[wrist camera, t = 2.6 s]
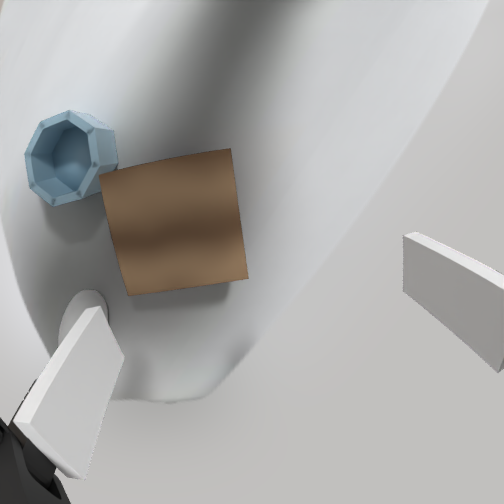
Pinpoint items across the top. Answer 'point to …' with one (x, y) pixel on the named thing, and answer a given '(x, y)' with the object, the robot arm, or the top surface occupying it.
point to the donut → (80, 310)
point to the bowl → (69, 157)
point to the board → (176, 222)
